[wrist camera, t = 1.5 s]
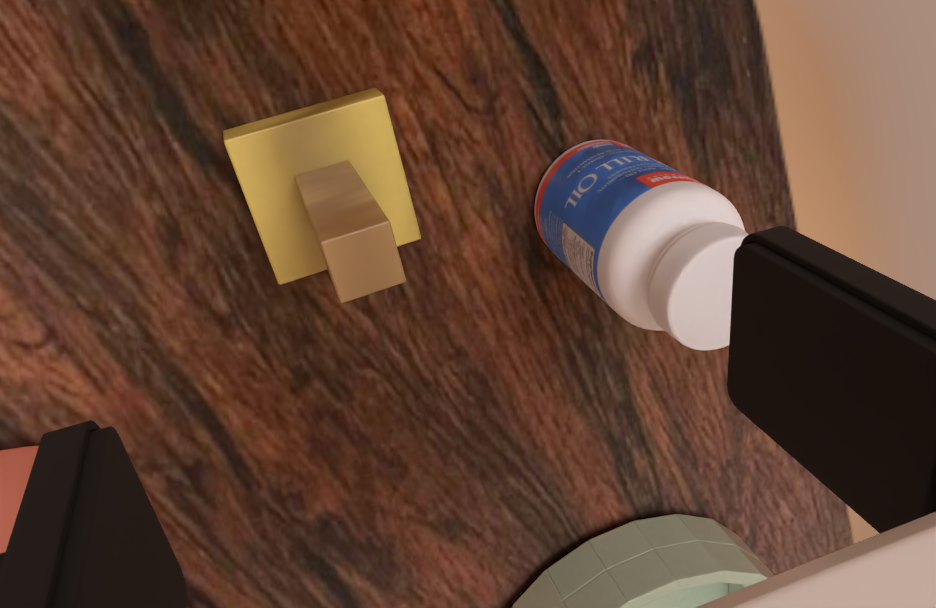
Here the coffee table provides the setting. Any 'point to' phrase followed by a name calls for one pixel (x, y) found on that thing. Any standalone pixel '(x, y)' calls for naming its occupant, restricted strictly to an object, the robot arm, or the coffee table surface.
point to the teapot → (13, 487)
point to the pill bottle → (643, 239)
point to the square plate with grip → (328, 192)
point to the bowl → (649, 567)
